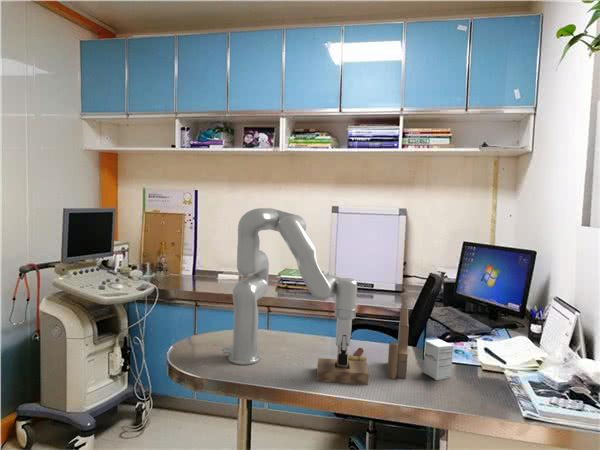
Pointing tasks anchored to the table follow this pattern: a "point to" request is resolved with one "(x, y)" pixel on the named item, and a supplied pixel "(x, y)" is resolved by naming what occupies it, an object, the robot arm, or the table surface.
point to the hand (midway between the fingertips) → (342, 361)
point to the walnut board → (342, 372)
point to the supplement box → (438, 359)
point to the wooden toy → (399, 349)
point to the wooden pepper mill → (347, 359)
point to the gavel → (357, 356)
